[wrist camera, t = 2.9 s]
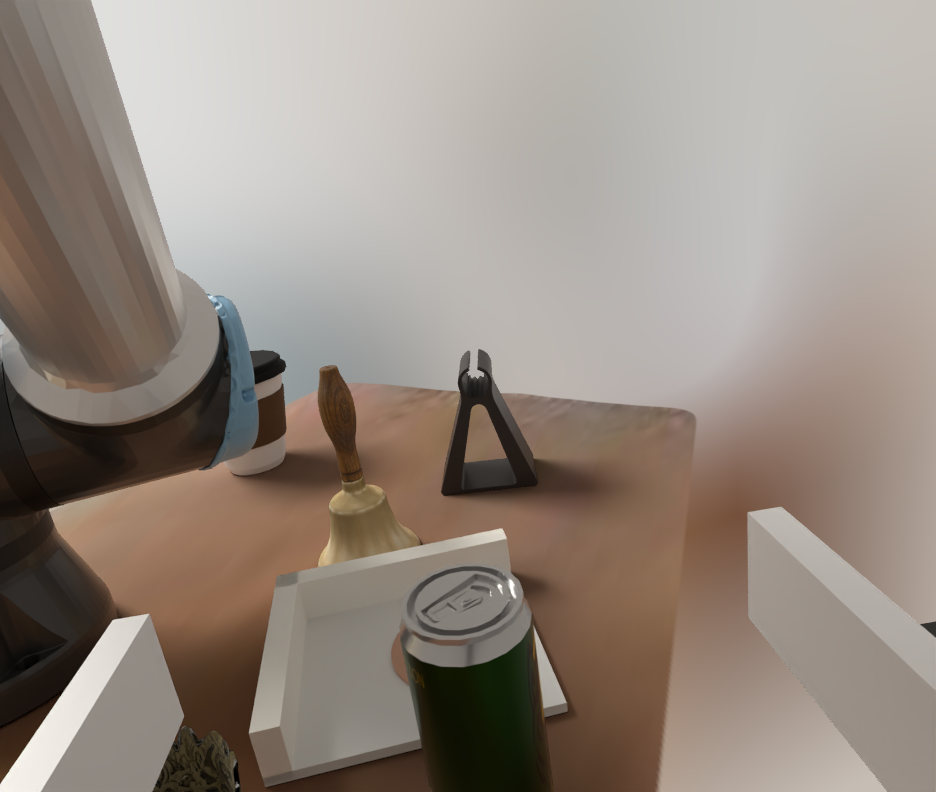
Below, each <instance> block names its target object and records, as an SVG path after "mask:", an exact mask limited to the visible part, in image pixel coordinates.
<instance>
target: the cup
mask: <svg viewBox="0 0 936 792" xmlns="http://www.w3.org/2000/svg"><path fill="white" fill-rule="evenodd" d="M178 745H179V747H178ZM152 792H241V786H240V780H239V773H238V762H237V758H236V756H235V753H234V751H231V752H230V750H229V748H228V745H227V743H226V742H225V740H224V739H223V738H222V736H221V735H220V734H219V733H217V732H216V731H214V730H213V731H211V732H210V733H209V734H208V735H206V737H204V738H203V739H200V740H198V738H197V737H196V733H195V732H194V731H193V730H192V729H191V728H189V727H188V726H184V727H183V728H182V729H181V730H180V731H179V735H178V740H177V744H176V743H175V742H173V744H172V747H171V749H170V751H169V754H168V756H167V758H166V761H165V763H164V765H163V768H162V770H161V772H160V775H159V777H158V780H157V782H156V784H155V787H154V789H153V791H152Z"/></svg>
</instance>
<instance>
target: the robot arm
mask: <svg viewBox="0 0 936 792" xmlns="http://www.w3.org/2000/svg"><path fill="white" fill-rule="evenodd" d="M0 319H1V320H2V321H3V323H4V324H5V325H6V326H5V330H4V334H3V335H0V726H1V725H4V724H6V723H8V722H10V721H12V720H14V719H16V718H18V717H19V716H21V715H23V714H25V713H27V712H29V711H30V710H32V709H34V708H35V707H37V706H39V705H40V704H42V703H44V702H45V701H47V700H48V699H50V698H51V697H53V696H54V695H56V694H57V693H59V692H60V691H61V690H63V689H64V688H65V687H67V688H66V689H65V691H64V692H63V693H62V695H61V696H60V698H59V699H58V701H57V702H56V704H55V705H54V707H53V708H52V710H51V711H50V712H49V714H48V715H47V717H46V718H45V720H44V721H43V723H42V724H41V726H40V727H39V728H38V730H37V731H36V733H35V734H34V736H33V737H32V739H31V740H30V742H29V743H28V745H27V746H26V747H25V749H24V750H23V752H22V753H21V755H20V756H19V758H18V759H17V761H16V762H15V763H14V765H13V766H12V768H11V769H10V771H9V772H8V774H7V775H6V777H5V778H4V779H3V781H2V782H1V784H0V792H152V791H153V789H154V787H155V784H156V782H157V780H158V777H159V775H160V772H161V770H162V768H163V765H164V763H165V761H166V758H167V756H168V754H169V751H170V749H171V747H172V744H173V742H174V740H175V737H176V735H177V732H178V730H179V728H180V725H181V723H182V721H183V718H184V714H183V711H182V708H181V705H180V702H179V699H178V696H177V693H176V690H175V688H174V685H173V682H172V679H171V676H170V673H169V670H168V667H167V664H166V661H165V658H164V655H163V652H162V649H161V647H160V644H159V641H158V638H157V635H156V632H155V629H154V626H153V623H152V620H151V617H150V614H145V615H139V616H133V617H127V618H121V619H118V613H117V610H116V607H115V605H114V602H113V599H112V597H111V594H110V591H109V589H108V587H107V586H106V584H105V583H104V582H103V581H102V580H101V579H100V578H99V577H98V576H97V575H96V574H95V573H94V571H93V570H92V569H91V568H90V567H89V566H88V565H87V563H86V562H85V561H84V560H83V559H82V558H81V557H80V556H79V555H78V554H77V553H76V552H75V551H74V549H73V548H72V547H71V546H70V545H69V544H68V543H67V542H66V541H65V540H64V539H63V538H62V537H61V536H60V534H59V533H58V531H57V530H56V527H55V525H54V523H53V520H52V517H51V515H50V512H49V508H53V507H57V506H61V505H64V504H67V503H71V502H75V501H79V500H83V499H86V498H90V497H94V496H98V495H102V494H105V493H109V492H113V491H117V490H121V489H125V488H128V487H132V486H136V485H140V484H144V483H148V482H151V481H155V480H159V479H163V478H167V477H171V476H174V475H178V474H182V473H186V472H190V471H193V470H197V469H198V470H208V469H212V467H215V466H216V465H218V464H219V463H221V462H224V461H228V460H231V459H234V458H238V457H240V456H243V455H244V454H246V453H247V452H249V451H250V450H251V448H252V447H253V446H254V444H255V442H256V439H257V435H258V428H259V413H258V402H257V396H256V393H255V390H254V387H255V381H254V371H253V365H252V360H251V355H250V351H249V347H248V342H247V338H246V335H245V331H244V328H243V325H242V322H241V318H240V316H239V313H238V311H237V309H236V307H235V305H234V304H233V302H232V301H231V300H229V299H227V298H225V297H224V296H211V295H209V294H206V293H205V291H204V290H203V289H202V288H201V287H200V286H199V285H198V284H197V283H196V282H195V281H194V280H193V279H191V278H190V277H188V276H187V275H186V274H184V273H182V272H180V271H179V270H177V269H175V266H174V264H173V260H172V257H171V254H170V251H169V247H168V244H167V241H166V238H165V235H164V232H163V228H162V225H161V222H160V219H159V216H158V213H157V209H156V206H155V203H154V200H153V197H152V193H151V190H150V187H149V184H148V181H147V177H146V174H145V171H144V168H143V165H142V162H141V158H140V155H139V152H138V149H137V146H136V142H135V139H134V136H133V133H132V130H131V126H130V123H129V120H128V117H127V114H126V111H125V108H124V104H123V101H122V98H121V95H120V92H119V88H118V85H117V82H116V79H115V76H114V72H113V69H112V66H111V63H110V60H109V57H108V54H107V50H106V47H105V44H104V41H103V38H102V34H101V31H100V28H99V25H98V22H97V18H96V15H95V12H94V9H93V6H92V2H91V0H0ZM748 617H749V618H750V620H751V621H752V622H753V623H754V625H755V626H756V627H757V628H758V630H759V631H760V632H761V634H762V635H763V636H764V637H765V639H766V640H767V641H768V642H769V643H770V645H771V646H772V647H773V649H774V650H775V651H776V652H777V653H778V655H779V656H780V657H781V658H782V660H783V661H784V662H785V664H786V665H787V666H788V667H789V669H790V670H791V671H792V672H793V674H794V675H795V676H796V677H797V679H798V680H799V681H800V682H801V684H802V685H803V686H804V687H805V689H806V690H807V691H808V692H809V694H810V695H811V696H812V697H813V699H814V700H815V701H816V702H817V704H818V705H819V706H820V708H821V709H822V710H823V711H824V712H825V714H826V715H827V716H828V718H829V719H830V720H831V721H832V722H833V724H834V725H835V726H836V727H837V729H838V730H839V731H840V733H841V734H842V735H843V736H844V738H845V739H846V740H847V741H848V743H849V744H850V745H851V746H852V748H853V749H854V750H855V751H856V753H857V754H858V755H859V756H860V758H861V759H862V760H863V761H864V763H865V764H866V765H867V766H868V768H869V769H870V770H871V771H872V773H873V774H874V775H875V776H876V778H877V779H878V780H879V782H880V783H881V784H882V785H883V787H884V788H885V789H886V790H887V792H936V622H931V623H925V624H919V623H918V622H917V621H915V620H914V619H913V618H912V617H911V616H909V615H908V614H907V613H906V612H905V611H904V610H902V609H901V608H900V607H899V606H897V605H896V604H895V603H894V602H893V601H892V600H890V599H889V598H888V597H887V596H886V595H885V594H883V593H882V592H881V591H880V590H879V589H878V588H876V587H875V586H874V585H873V584H872V583H871V582H869V581H868V580H867V579H866V578H865V577H863V576H862V575H861V574H860V573H858V571H856V570H855V569H854V568H853V567H851V565H849V564H848V563H847V562H846V561H845V560H843V559H842V558H841V557H840V556H839V555H838V554H836V553H835V552H834V551H833V550H832V549H830V548H829V547H828V546H827V545H826V544H825V543H823V542H822V541H821V540H820V539H819V538H817V537H816V536H815V535H814V534H813V533H812V532H810V531H809V530H808V529H807V528H806V527H805V526H803V525H802V524H801V523H800V522H799V521H797V520H796V519H795V518H794V517H792V515H790V514H789V513H788V512H787V511H785V510H784V509H783V508H782V507H777V508H771V509H765V510H759V511H753V512H748Z"/></svg>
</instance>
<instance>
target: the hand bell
mask: <svg viewBox="0 0 936 792" xmlns="http://www.w3.org/2000/svg"><path fill="white" fill-rule="evenodd" d="M318 406H319V412H320V416H321V419H322V422H323V425H324V428H325V430H326V432H327V434H328V436H329V437H330V439H331V441H332V443H333V445H334V447H335V450H336V455H337V460H338V465H339V471H340V478H341V480H342V486H343V490H342V491H341V492H339V493H338V494H336V495H335V496H334V497H333V498H332V500H331V501H330V504H329V511H330V523H331V531H330V539H329V542H328V545H327V547H326V548H325V549H324V551H323V552H322V554H321V556H320V559H319V563H318V567H322V566H327V565H331V564H336V563H341V562H345V561H350V560H355V559H360V558H364V557H369V556H374V555H379V554H383V553H388V552H393V551H397V550H402V549H407V548H412V547H416V546H421V544H420V541H419V539H418V537H417V536H416V535H415V534H414V533H413V532H412V531H411V530H409V529H408V528H406V527H404V526H402V525H401V524H400V523H399V522H398V521H397V519H396V518H395V516H394V514H393V512H392V510H391V508H390V505H389V503H388V500H387V497H386V494H385V492H384V491H383V490H382V489H381V488H380V487H378V486H375V485H366V484H365V481H364V477H363V476H362V475H363V472H362V469H361V468H360V467H361V465H360V462H359V458H358V454H357V450H356V444H355V434H356V413H355V407H354V402H353V398H352V395H351V393H350V391H349V389H348V387H347V385H346V383H345V381H344V380H343V378H342V377H341V375H340V373H339V371H338V368H337V366H335V365H331V366H325V367H322V368H321V369H320V381H319V389H318Z"/></svg>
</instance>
